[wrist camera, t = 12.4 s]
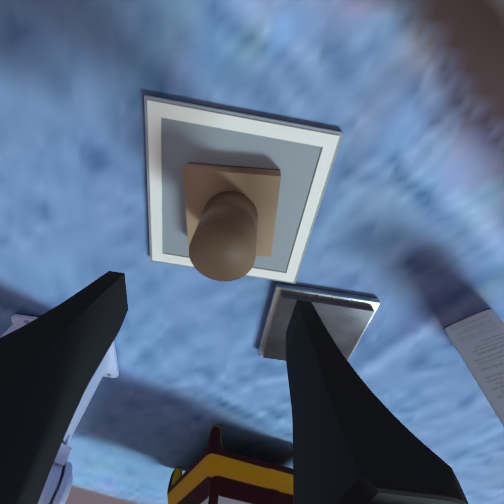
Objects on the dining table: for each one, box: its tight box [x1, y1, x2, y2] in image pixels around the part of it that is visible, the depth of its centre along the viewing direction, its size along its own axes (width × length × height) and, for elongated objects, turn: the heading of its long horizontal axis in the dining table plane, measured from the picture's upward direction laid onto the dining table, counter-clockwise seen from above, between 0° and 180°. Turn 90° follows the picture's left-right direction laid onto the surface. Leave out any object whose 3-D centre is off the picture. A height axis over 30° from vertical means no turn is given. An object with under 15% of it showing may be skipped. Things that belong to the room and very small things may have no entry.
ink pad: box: [258, 283, 380, 361], centre depth 27 cm, size 9×9×1 cm
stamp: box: [183, 162, 281, 281], centre depth 18 cm, size 6×6×6 cm
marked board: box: [144, 95, 343, 284], centre depth 21 cm, size 12×12×1 cm
